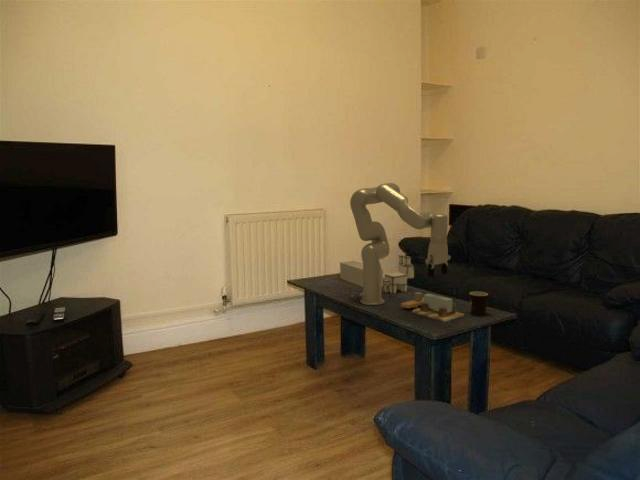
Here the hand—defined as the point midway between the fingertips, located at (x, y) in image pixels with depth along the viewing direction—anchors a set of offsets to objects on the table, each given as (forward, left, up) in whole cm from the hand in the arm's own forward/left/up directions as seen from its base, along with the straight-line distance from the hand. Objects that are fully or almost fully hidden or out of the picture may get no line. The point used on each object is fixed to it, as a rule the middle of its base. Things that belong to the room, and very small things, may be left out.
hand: (437, 275), depth 245 cm
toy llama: (-43, +18, -19) cm, 50 cm away
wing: (-15, +3, -19) cm, 24 cm away
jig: (0, 0, -19) cm, 19 cm away
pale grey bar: (0, 0, -17) cm, 17 cm away
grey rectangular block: (-73, +17, -20) cm, 78 cm away
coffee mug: (+12, +16, -19) cm, 28 cm away
